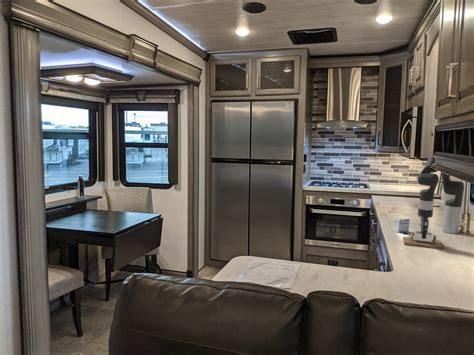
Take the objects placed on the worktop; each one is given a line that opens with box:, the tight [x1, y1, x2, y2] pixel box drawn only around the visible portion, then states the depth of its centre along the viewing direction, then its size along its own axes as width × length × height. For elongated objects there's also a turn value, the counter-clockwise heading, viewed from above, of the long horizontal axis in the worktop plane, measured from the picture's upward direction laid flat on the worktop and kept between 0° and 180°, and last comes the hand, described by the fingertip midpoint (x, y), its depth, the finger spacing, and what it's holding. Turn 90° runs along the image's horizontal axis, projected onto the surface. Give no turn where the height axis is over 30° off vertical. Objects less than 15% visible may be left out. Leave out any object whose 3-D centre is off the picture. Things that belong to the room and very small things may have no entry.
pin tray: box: [402, 232, 445, 250], centre depth 214 cm, size 14×20×5 cm
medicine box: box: [393, 217, 411, 234], centre depth 240 cm, size 8×4×9 cm, turn 105°
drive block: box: [413, 230, 434, 242], centre depth 214 cm, size 5×9×4 cm, turn 63°
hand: (423, 237), depth 214 cm, fingers closed on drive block, 5 cm apart
